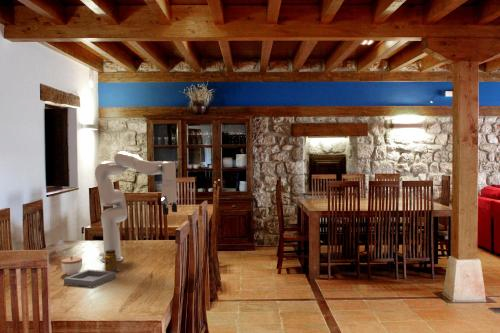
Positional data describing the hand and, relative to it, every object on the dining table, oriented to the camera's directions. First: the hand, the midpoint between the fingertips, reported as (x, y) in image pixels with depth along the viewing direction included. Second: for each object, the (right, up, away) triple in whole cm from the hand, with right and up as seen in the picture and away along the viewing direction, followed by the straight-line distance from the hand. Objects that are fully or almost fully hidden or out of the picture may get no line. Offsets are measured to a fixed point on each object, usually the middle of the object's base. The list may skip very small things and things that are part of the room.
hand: (170, 213), depth 269 cm
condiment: (-30, -32, -9) cm, 44 cm away
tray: (-37, -32, -26) cm, 55 cm away
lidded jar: (-52, -32, -10) cm, 62 cm away
